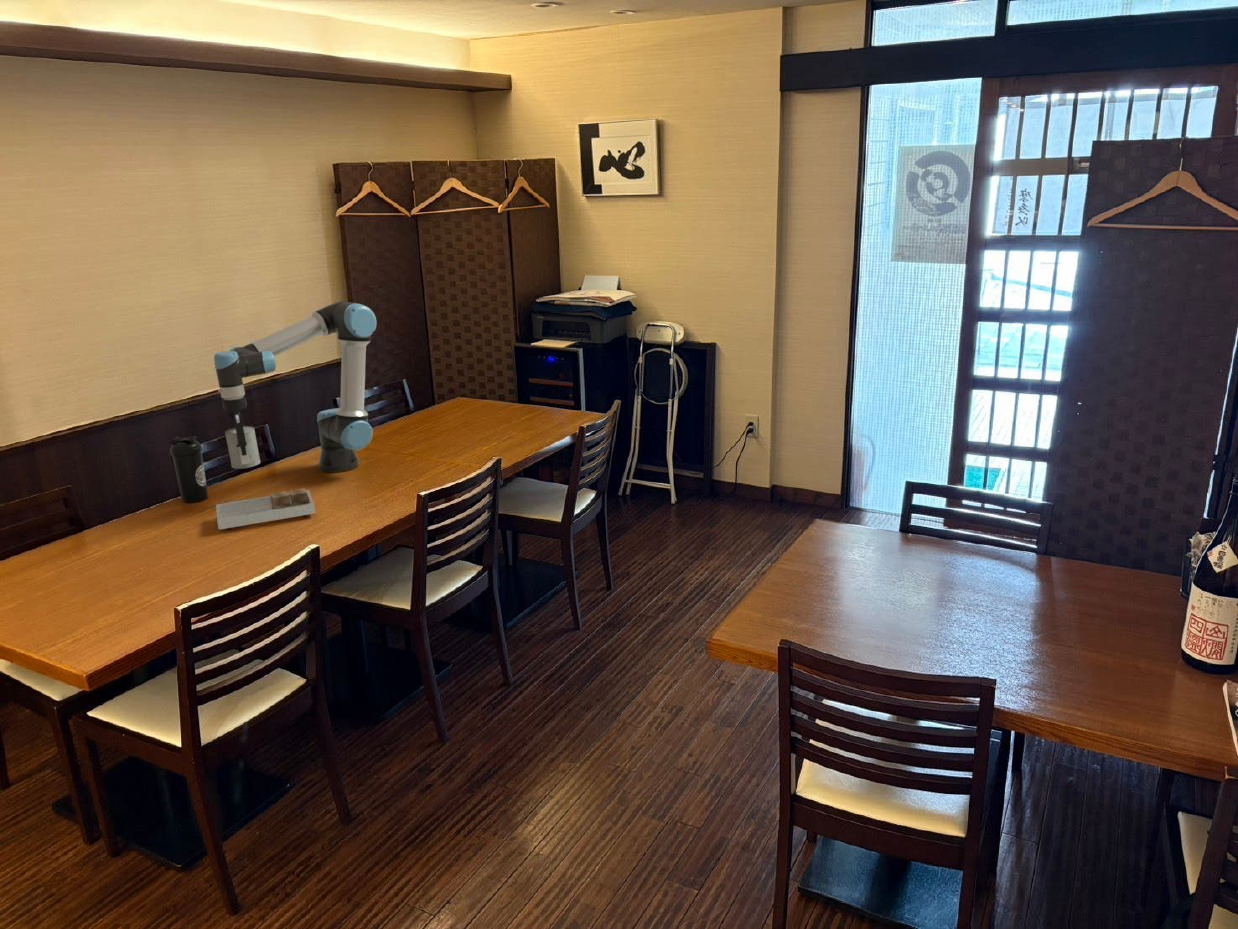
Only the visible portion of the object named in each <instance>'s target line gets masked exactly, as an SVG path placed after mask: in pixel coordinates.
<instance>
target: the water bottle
mask: <svg viewBox="0 0 1238 929" xmlns="http://www.w3.org/2000/svg"><path fill="white" fill-rule="evenodd" d="M196 439H198V438H197V436H195V435H194V436H189V437H183V438H181V436H177V437H175V438H173V439H172V440H171V441H170V442H171V446H170V448H169V452H170V453H169V454H170V456H171V457H172V461H173V466H174V470H175V474H176V480H177V483H178V489H179V492H180V496H181V500H182V503H183V504H189V505H190V504H197V503H201V502H202V503H203V502H205V501H207V500H208V499H209V493H208V485H207V481H206V473H205V466H204V460H203V453H202V451H203V447H202V444H201V443H200V442H199V441H198V440H196Z"/></svg>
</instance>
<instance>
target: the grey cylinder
mask: <svg viewBox="0 0 1238 929" xmlns="http://www.w3.org/2000/svg"><path fill="white" fill-rule="evenodd" d="M243 429H244V434H245V440H246V443H247V448H248V454H249V459H250V463H248V464H242V462H241V457H240V452H239V447H237V446H236V445H238V439H237V434H236V428H234V427H232V428H229V429H227V430H225V432H224V434H225V440H226V445H227V448H228V449H227V450H228V455H229V459H230V464H231V465H230V466H231V468H233V469H237V470H239V469H242V470H243V469H249V468H252V467H255V466H258V465H260V464H261V458H260V452H259V448H258V443H257V436H256V431H255V427H253V426H250V425H249V426H247V425H244V427H243ZM240 443H241V442H240Z"/></svg>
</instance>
